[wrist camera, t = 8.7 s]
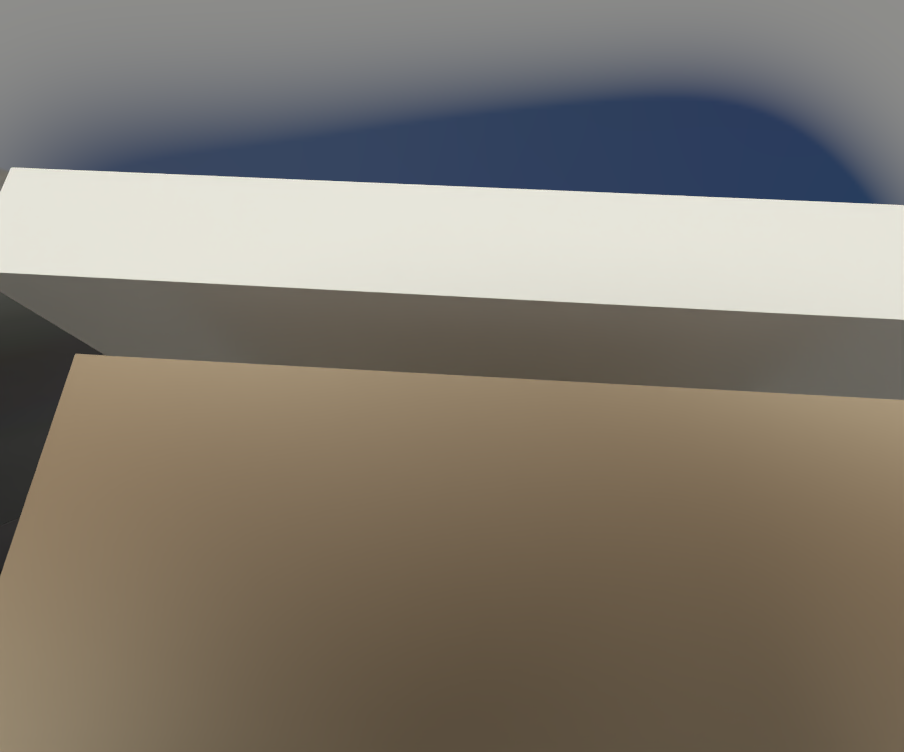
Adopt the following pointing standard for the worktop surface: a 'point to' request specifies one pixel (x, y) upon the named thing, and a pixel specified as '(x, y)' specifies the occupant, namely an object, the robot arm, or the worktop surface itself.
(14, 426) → the worktop surface
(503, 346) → the picture ledge
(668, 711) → the oak photo frame
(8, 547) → the robot arm
